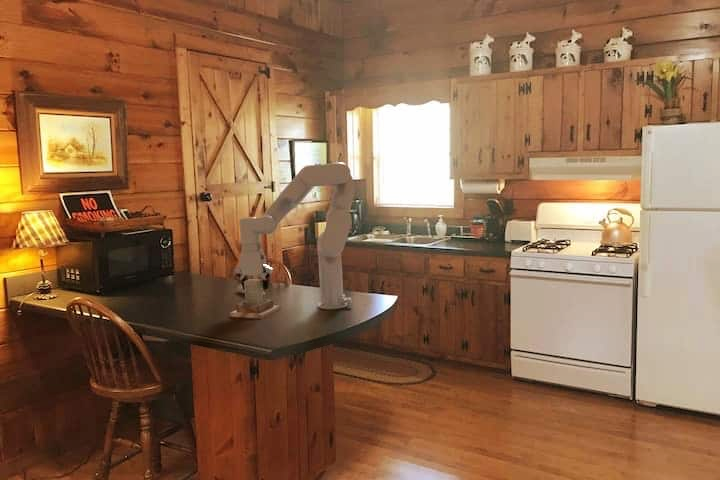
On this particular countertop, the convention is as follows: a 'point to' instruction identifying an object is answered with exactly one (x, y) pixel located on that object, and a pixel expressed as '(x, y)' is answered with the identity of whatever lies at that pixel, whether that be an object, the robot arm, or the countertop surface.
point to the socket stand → (255, 310)
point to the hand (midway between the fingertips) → (255, 288)
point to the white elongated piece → (240, 288)
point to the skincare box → (253, 292)
